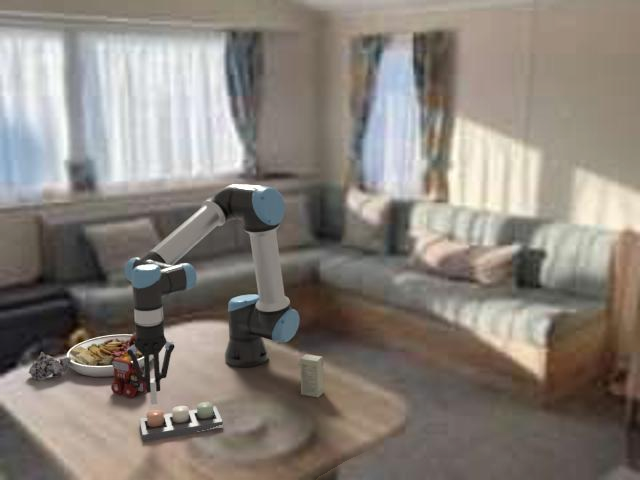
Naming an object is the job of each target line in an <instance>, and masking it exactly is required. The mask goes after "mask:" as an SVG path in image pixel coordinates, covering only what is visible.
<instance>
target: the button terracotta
mask: <svg viewBox="0 0 640 480" xmlns="http://www.w3.org/2000/svg"><path fill="white" fill-rule="evenodd" d="M164 414H165V413H164V411H163V410H161V409H151V410H149V411H147V413H146V417H147V425H148V426H151V427H152V428H157V427H160V426H162V424H163V423H164Z"/></svg>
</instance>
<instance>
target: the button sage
mask: <svg viewBox="0 0 640 480" xmlns="http://www.w3.org/2000/svg"><path fill="white" fill-rule="evenodd" d="M213 406H214V404H213V403H212V402H209V401H202V402H200V403H198V404H197V405H196V409H197V416H198V417H199V418H200V419H208V418H212V417H214V416H213Z"/></svg>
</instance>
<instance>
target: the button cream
mask: <svg viewBox="0 0 640 480" xmlns="http://www.w3.org/2000/svg"><path fill="white" fill-rule="evenodd" d="M189 410H190V409H189V407H188V406H186V405H178V406H175V407H173V408H172V409H171V413H172V419H173V421H174V422H176V423H184V422H188V421H189V420H188V419H189ZM187 420H188V421H187Z"/></svg>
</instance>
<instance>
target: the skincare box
mask: <svg viewBox="0 0 640 480" xmlns="http://www.w3.org/2000/svg"><path fill="white" fill-rule="evenodd" d="M299 367H300V368H299V369H300V393H301V395H303V396H307V397H313V398H320V397H321V396H322V395H323V393H324V392H325V386H324V382H325V381H324V358H323V356H321V355H316V354H308V353H305V354H303V356H301V357H300V358H299Z"/></svg>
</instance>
